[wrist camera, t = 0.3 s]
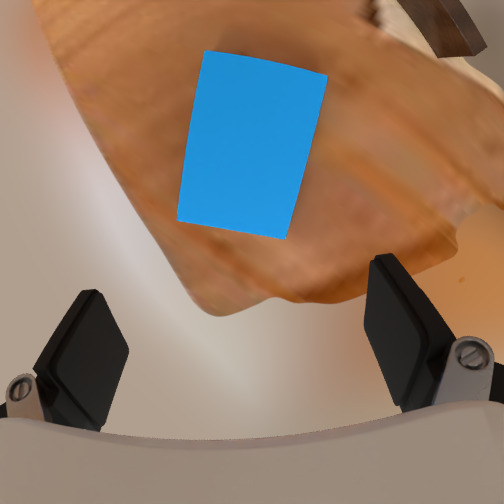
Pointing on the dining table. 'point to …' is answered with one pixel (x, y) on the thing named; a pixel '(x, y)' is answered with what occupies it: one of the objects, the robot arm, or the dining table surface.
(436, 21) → the bookend
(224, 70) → the book
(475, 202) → the dining table surface
